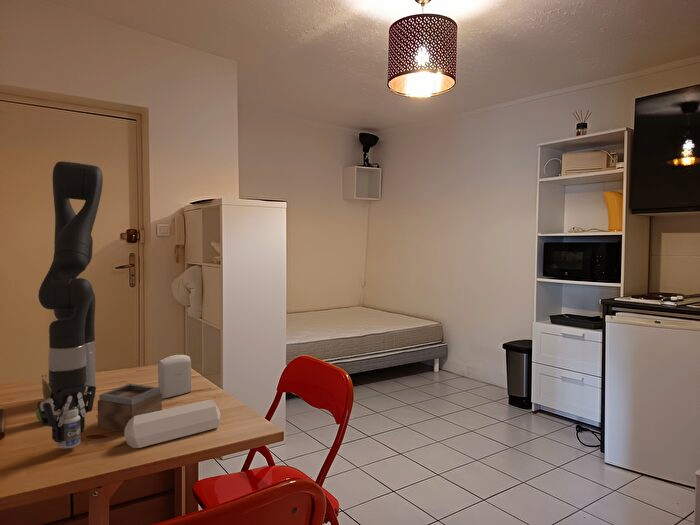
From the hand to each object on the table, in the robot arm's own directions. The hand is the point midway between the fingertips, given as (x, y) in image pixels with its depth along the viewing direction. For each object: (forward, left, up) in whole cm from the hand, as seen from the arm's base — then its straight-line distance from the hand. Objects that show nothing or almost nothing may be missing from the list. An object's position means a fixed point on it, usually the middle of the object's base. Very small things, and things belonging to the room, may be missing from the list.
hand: (68, 436), depth 113 cm
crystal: (+17, +16, -4) cm, 24 cm away
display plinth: (+1, +18, -3) cm, 18 cm away
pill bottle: (0, 0, -2) cm, 2 cm away
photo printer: (-3, +41, -3) cm, 41 cm away
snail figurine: (-20, +11, -3) cm, 23 cm away
